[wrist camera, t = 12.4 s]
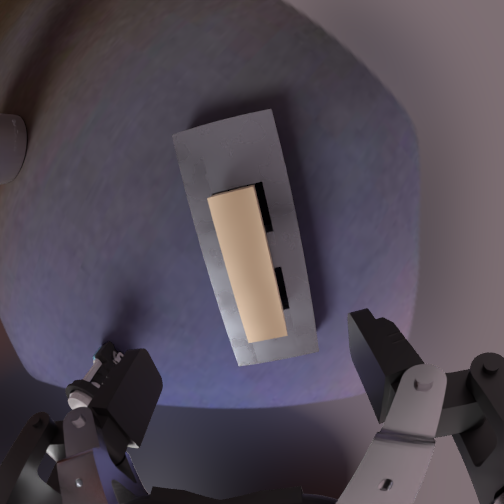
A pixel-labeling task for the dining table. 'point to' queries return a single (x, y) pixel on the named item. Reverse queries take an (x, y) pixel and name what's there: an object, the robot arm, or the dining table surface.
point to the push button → (86, 389)
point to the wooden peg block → (248, 262)
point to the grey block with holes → (278, 233)
